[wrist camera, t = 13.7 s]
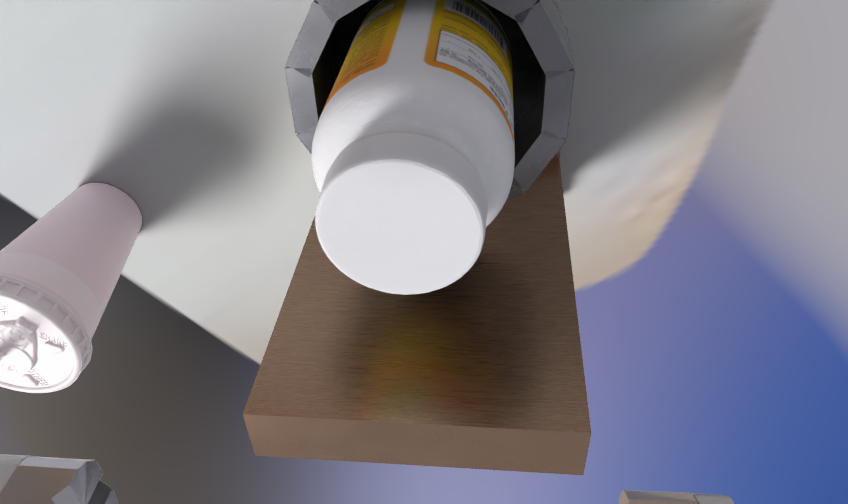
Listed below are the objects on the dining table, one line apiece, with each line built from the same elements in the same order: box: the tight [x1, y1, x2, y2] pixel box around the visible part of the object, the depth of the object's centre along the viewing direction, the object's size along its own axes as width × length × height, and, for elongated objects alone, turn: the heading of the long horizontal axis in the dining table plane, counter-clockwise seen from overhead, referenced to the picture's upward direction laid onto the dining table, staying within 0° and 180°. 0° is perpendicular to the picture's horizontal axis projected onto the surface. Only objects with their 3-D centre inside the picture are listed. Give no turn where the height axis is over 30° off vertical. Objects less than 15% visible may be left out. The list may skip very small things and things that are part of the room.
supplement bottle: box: [312, 0, 515, 295], centre depth 20 cm, size 5×5×10 cm
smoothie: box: [0, 183, 142, 393], centre depth 31 cm, size 6×6×14 cm
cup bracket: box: [243, 0, 591, 475], centre depth 24 cm, size 14×10×16 cm
